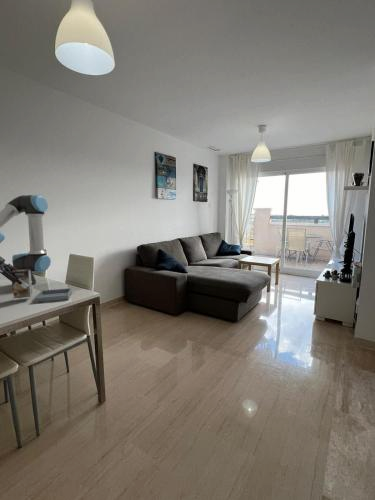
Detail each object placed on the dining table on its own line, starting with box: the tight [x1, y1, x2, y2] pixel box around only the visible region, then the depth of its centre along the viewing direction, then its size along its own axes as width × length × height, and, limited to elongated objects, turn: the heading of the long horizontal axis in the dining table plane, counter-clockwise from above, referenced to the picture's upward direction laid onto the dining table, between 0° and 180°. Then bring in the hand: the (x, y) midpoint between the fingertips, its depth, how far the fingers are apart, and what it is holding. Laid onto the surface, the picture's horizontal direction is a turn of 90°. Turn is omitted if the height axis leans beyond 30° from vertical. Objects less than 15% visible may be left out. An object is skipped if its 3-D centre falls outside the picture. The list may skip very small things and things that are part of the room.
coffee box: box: [11, 269, 33, 299], centre depth 154 cm, size 9×6×16 cm
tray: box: [33, 287, 73, 304], centre depth 159 cm, size 16×18×3 cm
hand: (28, 285), depth 155 cm, fingers closed on coffee box, 7 cm apart
